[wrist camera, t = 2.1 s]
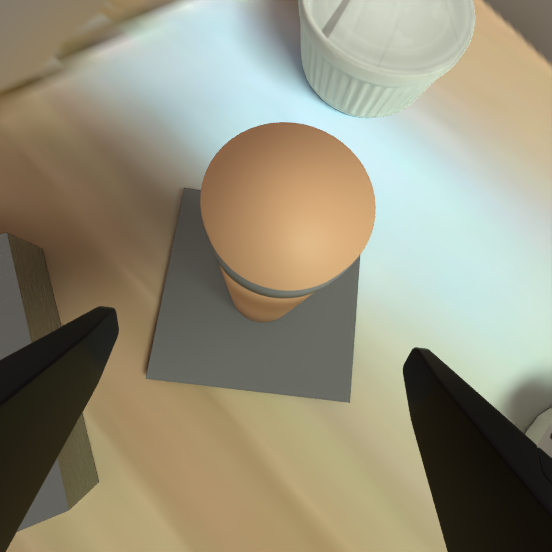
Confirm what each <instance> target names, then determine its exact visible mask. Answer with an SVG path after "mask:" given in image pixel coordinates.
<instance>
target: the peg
mask: <svg viewBox="0 0 552 552" xmlns="http://www.w3.org/2000/svg"><path fill="white" fill-rule="evenodd" d="M200 206H201V215H202V224H203V228H204V232H205V235H206V238H207V240H208V243H209V245H210V248H211V250H212V252H213V255H214V257H215V259H216V260H217V262H218V264H219V266H220V269H221V271H222V274H223V277H224V279H225V282H226V285H227V287H228V290H229V293H230V295H231V298H232V301H233V303H234V305H235V307H236V309H237V310H238V311H239V312H240V313H241V314H242V315H243V316H244V317H246V318H247V319H249V320H252V321H255V322H260V323H266V322H272V321H275V320H277V319H279V318H281V317H282V316H283V315H285V314H286V313H288V312H289V311H290V310H292V309H293V308H294V307H296V306H297V305H298V304H300V303H301V302H302V301H304V300H305V299H306V298H308V297H309V296H310V295H312V294H313V293H314V292H316V291H318V290H320V289H322V288H324V287H325V286H327V285H328V284H330V283H331V282H332V281H334V280H335V279H337V278H338V277H339V276H340V275H342V274H343V273H344V272H345V271H346V270H347V269H348V268H349V267H350V266H351V265H352V264H353V263H354V261H355V260H356V259H357V258H358V257H359V255H360V254H361V252H362V251H363V249H364V248H365V246H366V244H367V242H368V240H369V238H370V235H371V233H372V230H373V226H374V220H375V196H374V192H373V187H372V184H371V181H370V179H369V176H368V174H367V172H366V170H365V168H364V166H363V165H362V164H361V162H360V161H359V159H358V158H357V157H356V156H355V154H354V153H353V152H352V151H351V150H350V149H349V148H348V147H347V146H346V145H344V144H343V143H342V142H341V141H339V140H338V139H336V138H335V137H334V136H332V135H330V134H328V133H326V132H324V131H322V130H319V129H317V128H315V127H311V126H308V125H304V124H298V123H287V122H280V123H269V124H264V125H260V126H257V127H254V128H251V129H249V130H246V131H244V132H242V133H240V134H239V135H237V136H236V137H234V138H232V139H231V140H230V141H229V142H228V143H226V144H225V145H224V146H223V147H222V148H221V149H220V150H219V152H218V153H217V154H216V155H215V157H214V158H213V160H212V161H211V163H210V165H209V167H208V169H207V171H206V173H205V176H204V179H203V182H202V188H201V197H200Z"/></svg>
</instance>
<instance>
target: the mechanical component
mask: <svg viewBox="0 0 552 552" xmlns="http://www.w3.org/2000/svg"><path fill="white" fill-rule="evenodd" d="M525 435H526V436H527V437H528V438H530V439H531V440H532V441H533V442H534V443H535V444H536V445H537V447H539V448H541V449H542V450H543V451H544V452H546V453H547V454H548V455H549V456H550V457H551V458H552V407H551V408H550V409H548V410H547V411H545V412H543V413H542V414H540V415H539V416H538V417H537V418H536V420H535V421H534V422H533V424H532V425H531V426H530V427H529V429H528V430H527V432H526V434H525Z"/></svg>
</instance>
